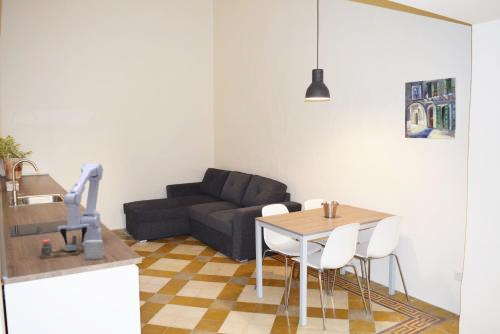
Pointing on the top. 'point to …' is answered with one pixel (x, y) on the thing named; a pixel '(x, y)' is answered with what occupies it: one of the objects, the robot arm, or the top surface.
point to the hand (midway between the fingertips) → (74, 243)
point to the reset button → (46, 241)
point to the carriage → (71, 244)
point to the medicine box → (93, 249)
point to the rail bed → (56, 252)
